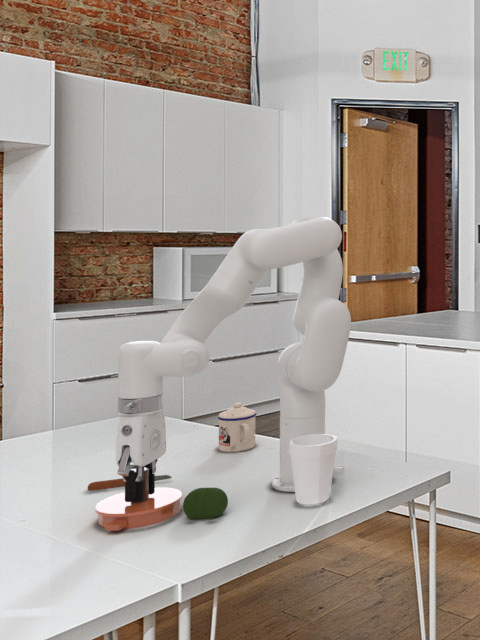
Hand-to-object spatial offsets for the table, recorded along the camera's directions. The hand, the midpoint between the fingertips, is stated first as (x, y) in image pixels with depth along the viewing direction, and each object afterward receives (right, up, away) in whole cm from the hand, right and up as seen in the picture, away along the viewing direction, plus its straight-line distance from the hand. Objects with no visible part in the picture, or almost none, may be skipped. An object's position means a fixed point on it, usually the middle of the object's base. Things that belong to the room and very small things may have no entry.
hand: (139, 496), depth 145 cm
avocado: (+13, -4, 0) cm, 14 cm away
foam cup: (+30, -5, +9) cm, 32 cm away
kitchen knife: (-13, -4, +18) cm, 23 cm away
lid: (0, -1, 0) cm, 1 cm away
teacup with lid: (-4, -4, +47) cm, 47 cm away
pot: (0, -4, 0) cm, 4 cm away
